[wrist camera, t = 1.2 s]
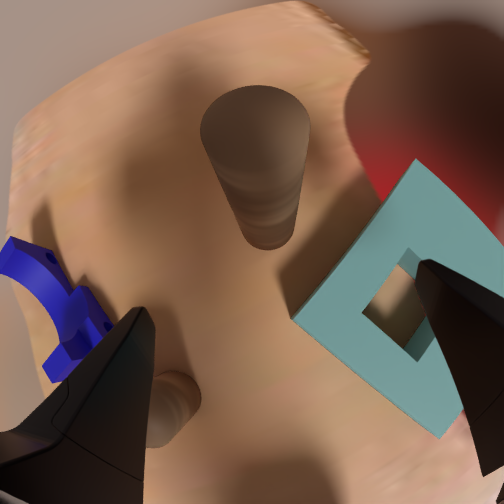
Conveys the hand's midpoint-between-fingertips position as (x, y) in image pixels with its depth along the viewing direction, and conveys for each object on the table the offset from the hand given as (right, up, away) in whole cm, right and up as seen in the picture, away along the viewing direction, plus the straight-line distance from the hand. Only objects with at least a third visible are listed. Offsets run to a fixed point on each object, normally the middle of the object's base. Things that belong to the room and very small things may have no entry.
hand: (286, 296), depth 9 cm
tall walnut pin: (0, +3, +13) cm, 14 cm away
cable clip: (-17, -3, +14) cm, 22 cm away
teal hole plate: (+12, -3, +11) cm, 16 cm away
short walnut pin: (-7, -10, +11) cm, 16 cm away
